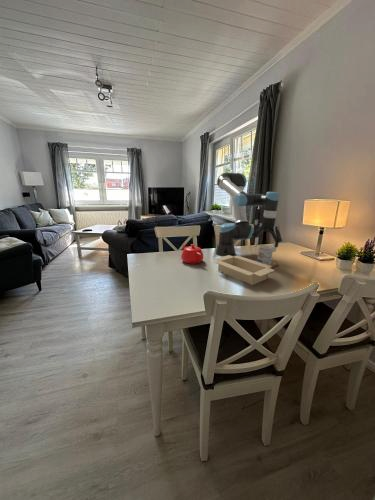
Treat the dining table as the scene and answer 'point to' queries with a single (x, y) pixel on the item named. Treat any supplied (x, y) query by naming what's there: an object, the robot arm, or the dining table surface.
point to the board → (272, 264)
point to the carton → (243, 268)
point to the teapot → (192, 254)
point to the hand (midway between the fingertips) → (264, 249)
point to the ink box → (265, 254)
